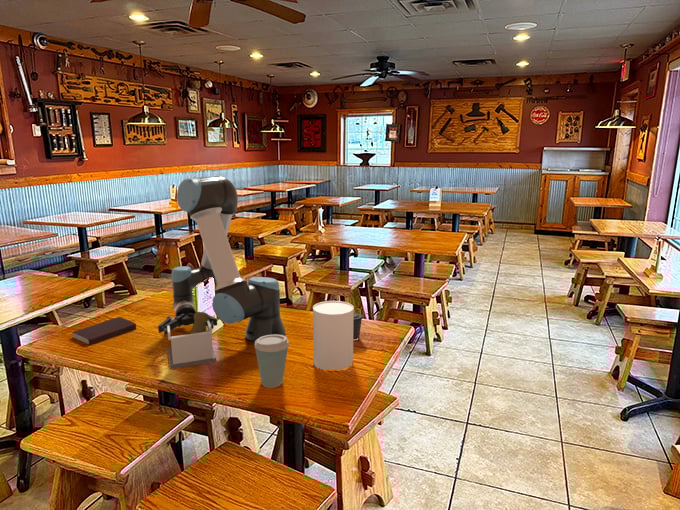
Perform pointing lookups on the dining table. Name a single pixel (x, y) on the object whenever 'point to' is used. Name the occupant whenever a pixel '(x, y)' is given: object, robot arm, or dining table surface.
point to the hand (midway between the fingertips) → (190, 333)
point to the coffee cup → (356, 325)
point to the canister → (333, 335)
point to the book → (104, 330)
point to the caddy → (191, 350)
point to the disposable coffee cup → (271, 359)
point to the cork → (199, 322)
